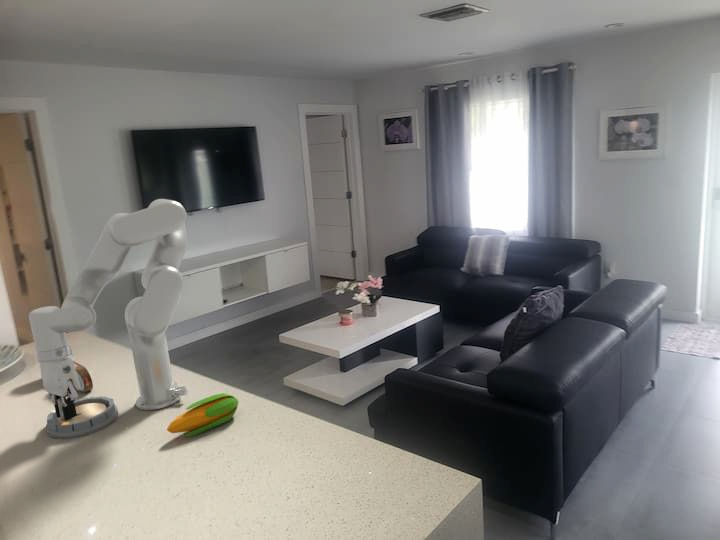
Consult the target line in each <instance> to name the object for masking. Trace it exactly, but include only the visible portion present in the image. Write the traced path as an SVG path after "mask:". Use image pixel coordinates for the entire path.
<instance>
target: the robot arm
mask: <svg viewBox="0 0 720 540" xmlns="http://www.w3.org/2000/svg"><path fill="white" fill-rule="evenodd" d="M187 215H188V214H187V211H186V209H185V207H184V206H183V205H182V204H181V203H180V202H178V201H176V200H173V199H168V198H167V199H166V198H158V199H155V200H153V201H152V202H150V204H149V205H148V207H146V208H143V209H140V210H137V211H134V212H131V213H125V212H120V213H118V212H117V213H115V214H113V215H112V216H111V217H110V218H109V219H108V221H107V223H106V224H105V226H104V228H103V229H102V232H101V234H100V236H99V238H98V240H97V242H96V244H95V245H94V248H93V249H92V251H91V253H90V255H89V256H88V259H87V260H86V262H85V264H84V265H83V267H82V269H81V270H80V271H79V273H78V275H77V276H76V278H75V280H74V281H73V283H72V285H71V286H70V288H69V291H68V293H67V294H66V296H65V298H64V301H63V302H62V305H61V308H60V307H58V306H56V305H51V306H50V305H49V306H43V307H42V306H41V307H39V308H36V309H33V310H32V311H31V310H30V312H29V315H28V320H29V324H30V329H31V334H32V337H33V342H34V347H35V351H36V357H37V360H38V363H39V367H40V368H39V369H40V375H41V379H42V384H43V388H44V390H45V391H46V392H47V393H49V395H50V397H51V400H52V403H53V404H54V410H55V411H56V416H57V417H58V418H60V417H61V416H60V411H59V407H58V402H57V400H58V399H59V398H61V399H62V403H63V407H62V410H63V415H64V419H65V420H69V419H71V418H73V417H75V416H77V413H76V408H75V401H76V400H77V398H79V395H78V393H77V392H80V391H79V390H80V384H79V380H78V376H77V372H76V369H75V366H74V363H73V361H72V359H71V357H70V351H69V346H68V344H69V342H68V338H67V333H76V332H77V333H78V332H84V331H87V330H89V329H90V328H92V327H93V326H94V325H95V323H96V322H97V321H96V320H97V313H96V311H95V310H94V305H95V304H96V301H97V299H98V297H99V295H100V294H101V292H102V291H103V289H104V288H105V287H106V285H107V284H108V283H110V282H111V281H112V280H114V279H115V278H116V277H118V275H119V273H120V272H121V271H122V268H123V266H124V264H125V262H126V260H127V258H128V256H129V254H130V253H131V250H132V248H133V247H136V246H140V245H142V244H145V243H148V242H151V241H153V240H155V241H154V245H153V248H152V251H151V254H150V255H149V257H148V260H147V263H146V265H145V268H144V270H143V272H142V275H141V278H140V279H141V285H142V286H143V288H144V289H145V290H144V292H143V295H142V296H137V297H135V298H133V299H131V300H130V301H129V302H128V304H127V305H126V306H125V309H124V310H125V311H124V320H125V324H126V325H125V326H126V328H127V333H128V336H129V337H128V338H129V340H130V345H131V351H132V357H133V358H132V359H133V363H134V368H135V373H136V380H137V385H138V392H139V397H137V399H136V400H135V405H136V408H137V409H139V410H142V411H153V410H154V411H155V410H159V409H164V408H166V407H169V406H171V405H174V404H176V403H177V402H178V401H179V400H180V399H181V396H187V395H188V392H189V391H188V388H187V386H186V385H182V386H179V385H178V382H177V381H174V379H173V373H172V366H171V360H170V355H169V348H168V347H169V346H168V341H167V338H166V337H167V336H166V331H167V329H168V327H169V326H170V324H171V321H172V319H173V317H174V314H175V312H176V309H177V307H178V305H179V302H180V300H181V297H182V294H183V291H184V287H185V284H184V283H185V282H184V277H183V275H182V273H181V272H180V271H179V270H180V266H181V264H182V263H183V262H182V260H183V257H184V255H185V253H186V249H187V243H188V235H187V234H188V233H187V229H186V226H185V223H186V221H187V217H188V216H187ZM65 397H68V398H67V399H66V398H65Z"/></svg>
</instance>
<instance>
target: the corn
mask: <svg viewBox="0 0 720 540" xmlns="http://www.w3.org/2000/svg"><path fill="white" fill-rule="evenodd" d="M238 406H239V400H238V398H237V397H235V396H234V395H232V394H228V393H225V392H224V393H219V394H213V395H210V396H207V397H205V398H203V399H200V400H198V401H196V402H193V403H192V404H190V405H188V406H187V407H186V408H185V410H187V411H186V412H183V413H182V414H180V415H179V416H177V417H176V418H175V419H173V420H172V421H171V422H169V425H168V426H167V428H166V430H167V432H169V433H171V434H178V433H185V432H188V433H186V434H185V435H184V437H186V438H187V437H192V436H196V435H199V434H201V433H205V432H207V431H208V430H211V429H213V428H216V427H218V426H221V425H223V424H225V423H228V422H229V420H231V419H232V417H233V416H235V413H236V411H237V409H238Z"/></svg>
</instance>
